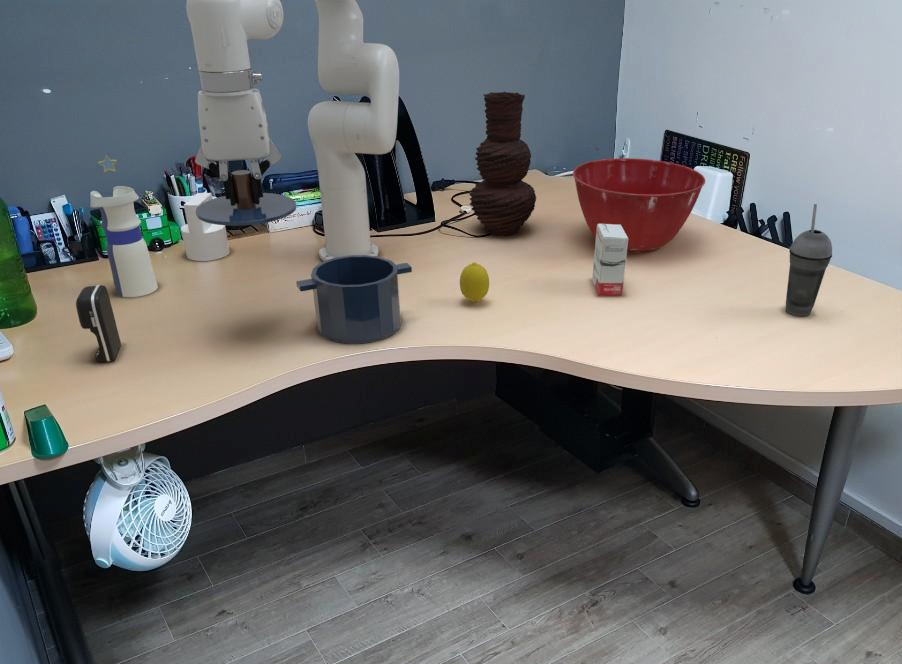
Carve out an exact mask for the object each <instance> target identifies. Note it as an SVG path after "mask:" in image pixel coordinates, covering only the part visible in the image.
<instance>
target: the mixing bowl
mask: <svg viewBox="0 0 902 664" xmlns="http://www.w3.org/2000/svg"><path fill="white" fill-rule="evenodd" d="M572 176H573V178H574V182H575V188H576V194H577V199H578V202H579V205H580V209H581V212H582V215H583V217H584V220H585V223H586V225H587V227H588V228H589V232H590V233H591V235H592V236H593V237H594V238H595V239H596V231H597V224H614V225H621V226H622V228H623V230H624V232H625V233H626V235H627V237H628V246H627V253H634V254H635V253H648V252H653V251H656V250H658V249H660V248H662V247H664V246H665V245H667V244H669V243H670V242H672V241H673V240H674V238H676V236H677V235H678V233H679V232H680V231H681V230H682V228H683V226H684V225H685V223H686V222H687V220H688V219H689V217H690V215H691V213H692V211H693V209H694V208H695V206H696V203H697V201H698V198H699V196H700V193H701V191H702V189H703V186H705V184H706V177H705V176H704V175H703V174H702V173H700V171H697V170H696V169H693V168H691V167H688V166H685V165H682V164H679V163H674V162H670V161H663V160H657V159H648V158H635V157H634V158H633V157H630V158H629V157H628V158H626V157H619V158H604V159H596V160H591V161H587V162H584V163H582V164H579V165H578V166H576V167H575V168H574V169H573V170H572Z"/></svg>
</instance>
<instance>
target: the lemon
mask: <svg viewBox="0 0 902 664" xmlns="http://www.w3.org/2000/svg"><path fill="white" fill-rule="evenodd" d="M459 288H460V289H459V290H460V292H461V294H462V295H463V297H464V298H466V299H467V300H469V301H471V302H472V303H473V304H475V303H476V304H477V303H478V302H479V301H480V300H482V299H484V298H485V297H486V296H487V294H488V292H489V289H490V276H489V273H488V270H487V269H486V268H485V267H484V266H483V265H482V264H479V263H477V262H472V263H469V264H468V265H466V266H465V267H464V268H463V269H462V271H461V273H460V276H459Z"/></svg>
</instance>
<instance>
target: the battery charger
mask: <svg viewBox="0 0 902 664" xmlns="http://www.w3.org/2000/svg"><path fill="white" fill-rule="evenodd" d="M75 308H76V313H77V317H78V320H79V324H80V327H81V328H82V329H83V330H90V332H91V333H92V334H93V335H95V338H96V342H97V344H98V349H97V350H96V353H95V354H94V360H95V361H97V362H111V361H114V360H115V359H116V357H117V355H118V352H119V350H120V347H121V345H122V341H121V337H120V334H119V329H118V326H117V322H116V318H115V314H114V310H113V306H112V302H111V298H110V294H109V292H108V288H107V287H106V285H102V284H97V285H87V286H85V287H83V288H82V290H80V293H79V294H78V296H77V298H76V301H75Z"/></svg>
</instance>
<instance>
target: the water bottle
mask: <svg viewBox="0 0 902 664" xmlns="http://www.w3.org/2000/svg"><path fill="white" fill-rule="evenodd" d="M117 162H118V160H117V159H110V157H109V156H108V155H107V154H105V156H104V160H101V161H98V162H97V164H99V165H100V166H102V167H103V174H105V173H107V172H108V171H112V172H116V170H117V169H116V168H115V164H116V163H117ZM112 188H113V189H112V191H113V192H112V196H102V194H101V193H100V192H99V191H96V190H92V191H90V193H89V194H90V196H89V197H90V209H91V208H92V209H95V208H98V209H99V211H100V214H101V222H100V227H101V229H103V233H104V235H105V240H106V253H107V258H108V263H109V266H110V271H111V275H112V280H113V284H114V290H115V294H116V295H117V296H119V297H122V298H139V297H143V296H147V295H150V294H152V293H155V292H156V291H157V290H158V288H159V285H158V282H157V280H156V275H155V273H154V268H153V265H152V261H151V257H150V252H149V249H148V245H147V243H146V240H145V239H144V237H143V234H142V230H141V229H142V228H141V223H142V220H141V218H139V217H138V215H137V213H136V210H135V204H134V202H136V201H137V200H139V199H140V197H139V195H138V194H137V193H136V192H135V189H134V188H132V187H130V186H125V185H116V186H114V187H112Z"/></svg>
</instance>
